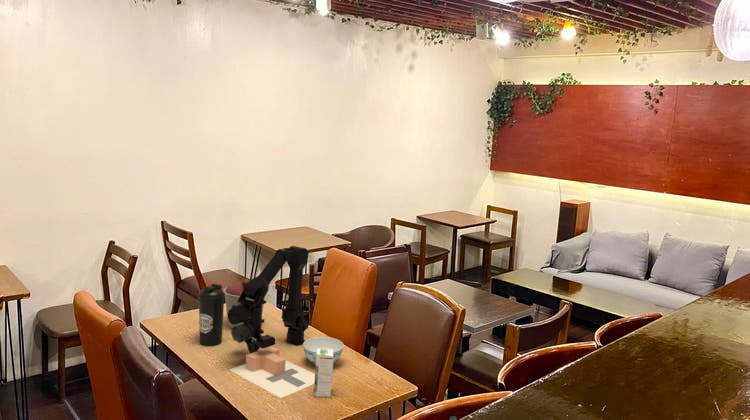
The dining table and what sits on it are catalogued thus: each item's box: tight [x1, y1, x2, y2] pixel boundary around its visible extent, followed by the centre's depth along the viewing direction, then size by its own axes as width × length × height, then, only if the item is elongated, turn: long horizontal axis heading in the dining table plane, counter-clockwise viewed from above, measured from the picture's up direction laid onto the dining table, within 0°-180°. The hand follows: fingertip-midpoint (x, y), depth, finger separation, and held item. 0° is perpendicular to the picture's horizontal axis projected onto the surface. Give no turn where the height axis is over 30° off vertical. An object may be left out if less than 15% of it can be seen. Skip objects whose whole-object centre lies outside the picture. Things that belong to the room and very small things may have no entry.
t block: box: [245, 345, 287, 376], centre depth 202 cm, size 12×12×5 cm
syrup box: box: [313, 349, 334, 398], centre depth 187 cm, size 6×6×14 cm
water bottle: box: [197, 283, 226, 347], centre depth 222 cm, size 10×10×23 cm
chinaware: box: [302, 336, 345, 366], centre depth 210 cm, size 15×15×8 cm
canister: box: [222, 278, 266, 330], centre depth 241 cm, size 18×18×21 cm
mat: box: [229, 360, 315, 399], centre depth 199 cm, size 20×28×1 cm
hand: (252, 357), depth 209 cm, fingers closed
